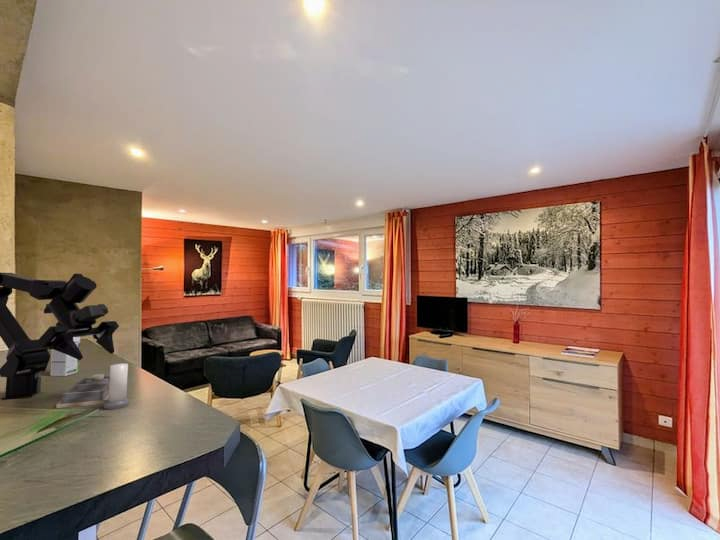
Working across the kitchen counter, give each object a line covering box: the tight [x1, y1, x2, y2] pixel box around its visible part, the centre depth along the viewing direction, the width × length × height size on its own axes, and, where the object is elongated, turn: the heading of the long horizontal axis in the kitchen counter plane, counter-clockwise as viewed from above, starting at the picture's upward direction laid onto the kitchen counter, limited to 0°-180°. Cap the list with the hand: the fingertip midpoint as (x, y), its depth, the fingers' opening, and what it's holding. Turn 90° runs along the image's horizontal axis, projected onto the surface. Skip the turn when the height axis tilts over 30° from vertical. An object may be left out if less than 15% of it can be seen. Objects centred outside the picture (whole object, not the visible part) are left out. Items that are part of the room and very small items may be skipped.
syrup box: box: [50, 337, 81, 377], centre depth 125 cm, size 6×6×14 cm
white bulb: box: [103, 362, 131, 411], centre depth 94 cm, size 6×6×11 cm
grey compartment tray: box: [55, 373, 110, 409], centre depth 102 cm, size 11×18×5 cm, turn 24°
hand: (97, 355), depth 96 cm, fingers open, 9 cm apart
